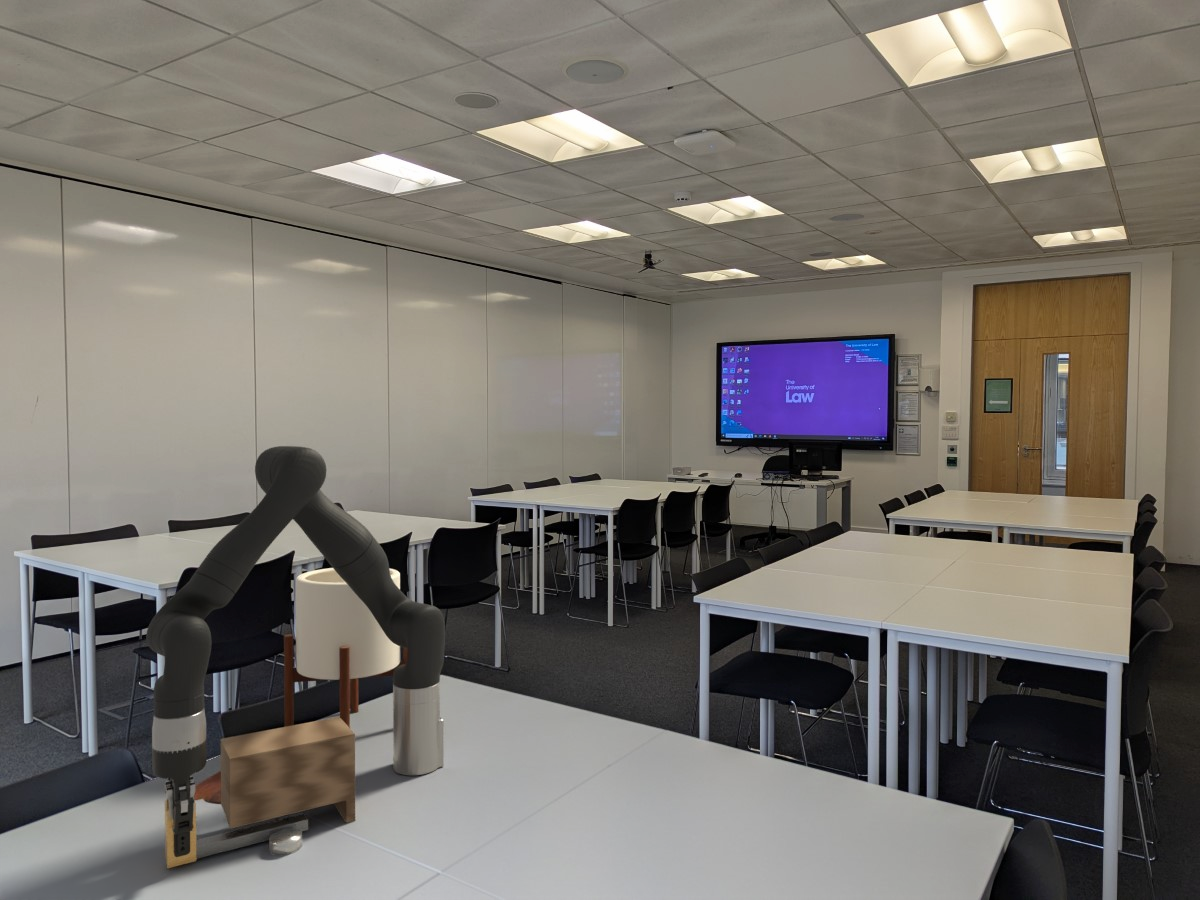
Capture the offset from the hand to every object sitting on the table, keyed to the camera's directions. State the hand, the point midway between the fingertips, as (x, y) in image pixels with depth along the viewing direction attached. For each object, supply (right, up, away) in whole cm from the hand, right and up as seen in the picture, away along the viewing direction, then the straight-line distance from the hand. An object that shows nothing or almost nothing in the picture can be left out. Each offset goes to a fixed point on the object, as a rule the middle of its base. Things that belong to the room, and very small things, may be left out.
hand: (180, 847), depth 126 cm
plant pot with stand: (+9, -2, +56) cm, 57 cm away
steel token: (+15, -3, +5) cm, 16 cm away
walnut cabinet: (+12, -2, +13) cm, 18 cm away
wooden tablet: (-4, -3, +34) cm, 34 cm away
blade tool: (+7, -2, +5) cm, 9 cm away
